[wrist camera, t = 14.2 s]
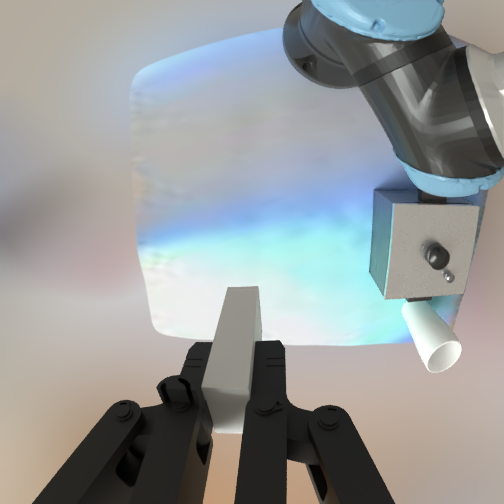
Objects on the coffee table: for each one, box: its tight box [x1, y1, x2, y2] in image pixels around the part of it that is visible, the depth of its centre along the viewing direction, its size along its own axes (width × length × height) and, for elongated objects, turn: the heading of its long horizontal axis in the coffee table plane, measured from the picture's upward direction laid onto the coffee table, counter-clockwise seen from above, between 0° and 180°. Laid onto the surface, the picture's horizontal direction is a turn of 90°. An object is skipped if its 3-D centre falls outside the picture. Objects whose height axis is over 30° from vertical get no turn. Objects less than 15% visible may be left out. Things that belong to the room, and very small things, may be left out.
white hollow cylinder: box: [402, 300, 462, 373], centre depth 45 cm, size 7×7×15 cm
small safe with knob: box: [369, 188, 473, 302], centre depth 42 cm, size 18×14×8 cm
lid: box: [383, 203, 480, 299], centre depth 37 cm, size 14×14×3 cm
